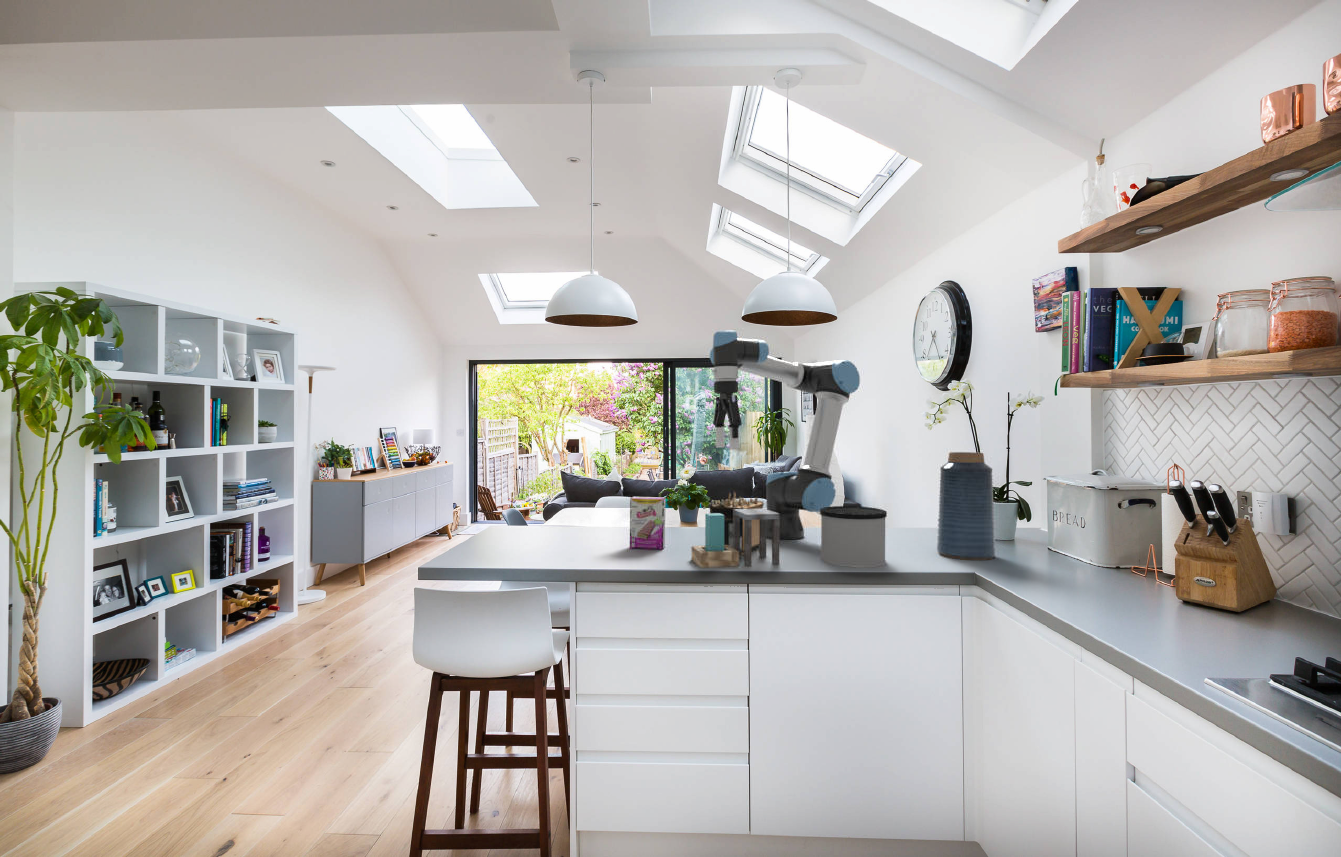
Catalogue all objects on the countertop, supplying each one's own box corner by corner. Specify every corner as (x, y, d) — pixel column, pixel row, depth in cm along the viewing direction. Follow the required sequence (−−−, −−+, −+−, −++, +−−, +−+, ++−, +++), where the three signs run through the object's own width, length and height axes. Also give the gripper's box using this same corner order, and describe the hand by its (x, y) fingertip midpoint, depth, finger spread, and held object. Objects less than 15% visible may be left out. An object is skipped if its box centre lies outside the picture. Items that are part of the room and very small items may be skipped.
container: (815, 564, 183) (815, 512, 183) (824, 552, 201) (825, 504, 201) (884, 569, 176) (884, 515, 176) (888, 557, 194) (888, 507, 194)
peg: (719, 560, 187) (719, 513, 187) (724, 563, 183) (724, 515, 183) (705, 561, 186) (705, 513, 186) (709, 564, 182) (709, 515, 182)
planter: (785, 557, 193) (785, 495, 194) (703, 558, 191) (703, 495, 192) (766, 544, 218) (766, 489, 219) (693, 545, 216) (694, 489, 217)
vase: (994, 552, 200) (994, 452, 200) (996, 562, 186) (996, 454, 186) (938, 548, 207) (938, 451, 207) (935, 557, 193) (936, 453, 192)
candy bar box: (629, 549, 205) (629, 498, 205) (631, 546, 210) (631, 496, 210) (663, 549, 204) (664, 498, 204) (665, 547, 209) (665, 496, 209)
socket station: (764, 556, 194) (764, 508, 194) (779, 564, 182) (779, 513, 182) (691, 559, 189) (691, 510, 189) (701, 567, 177) (701, 515, 177)
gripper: (703, 383, 211) (704, 447, 212) (727, 378, 187) (728, 450, 187) (724, 383, 213) (725, 446, 213) (751, 378, 189) (752, 449, 189)
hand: (727, 448), depth 200 cm, fingers open, 13 cm apart
